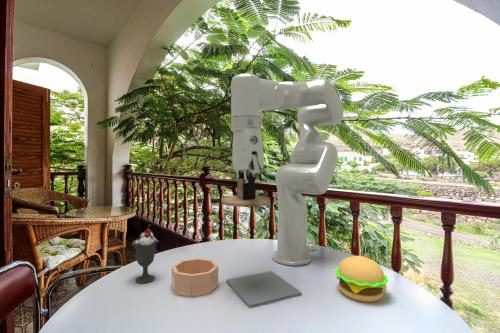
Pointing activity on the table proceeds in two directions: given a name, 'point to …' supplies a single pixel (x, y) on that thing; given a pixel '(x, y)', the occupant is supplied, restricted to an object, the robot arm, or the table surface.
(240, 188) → the lid
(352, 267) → the hamburger
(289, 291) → the mat
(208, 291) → the bowl
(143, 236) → the sundae
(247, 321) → the table surface
